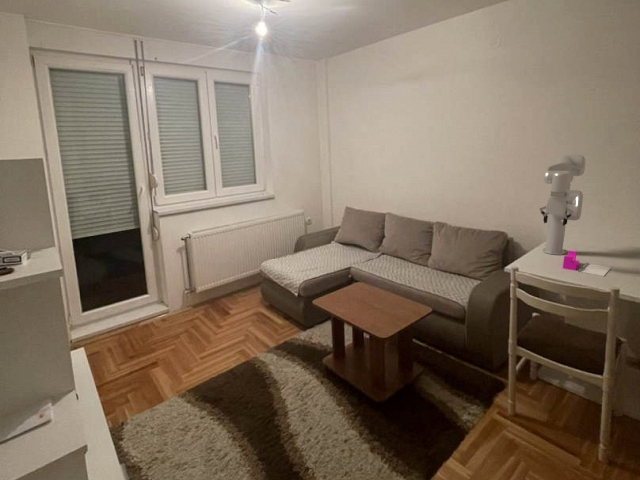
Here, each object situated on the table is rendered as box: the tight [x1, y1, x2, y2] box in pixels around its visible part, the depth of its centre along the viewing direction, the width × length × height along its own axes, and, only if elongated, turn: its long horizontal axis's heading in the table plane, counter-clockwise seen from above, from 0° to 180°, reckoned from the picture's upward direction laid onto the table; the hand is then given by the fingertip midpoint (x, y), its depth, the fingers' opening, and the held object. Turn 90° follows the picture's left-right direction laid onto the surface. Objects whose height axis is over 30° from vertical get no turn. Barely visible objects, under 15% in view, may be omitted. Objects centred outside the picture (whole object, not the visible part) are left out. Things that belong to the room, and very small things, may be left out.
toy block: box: [562, 250, 580, 271], centre depth 218 cm, size 15×6×8 cm, turn 138°
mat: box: [578, 262, 612, 277], centre depth 211 cm, size 18×12×1 cm, turn 133°
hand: (554, 223), depth 217 cm, fingers open, 9 cm apart
